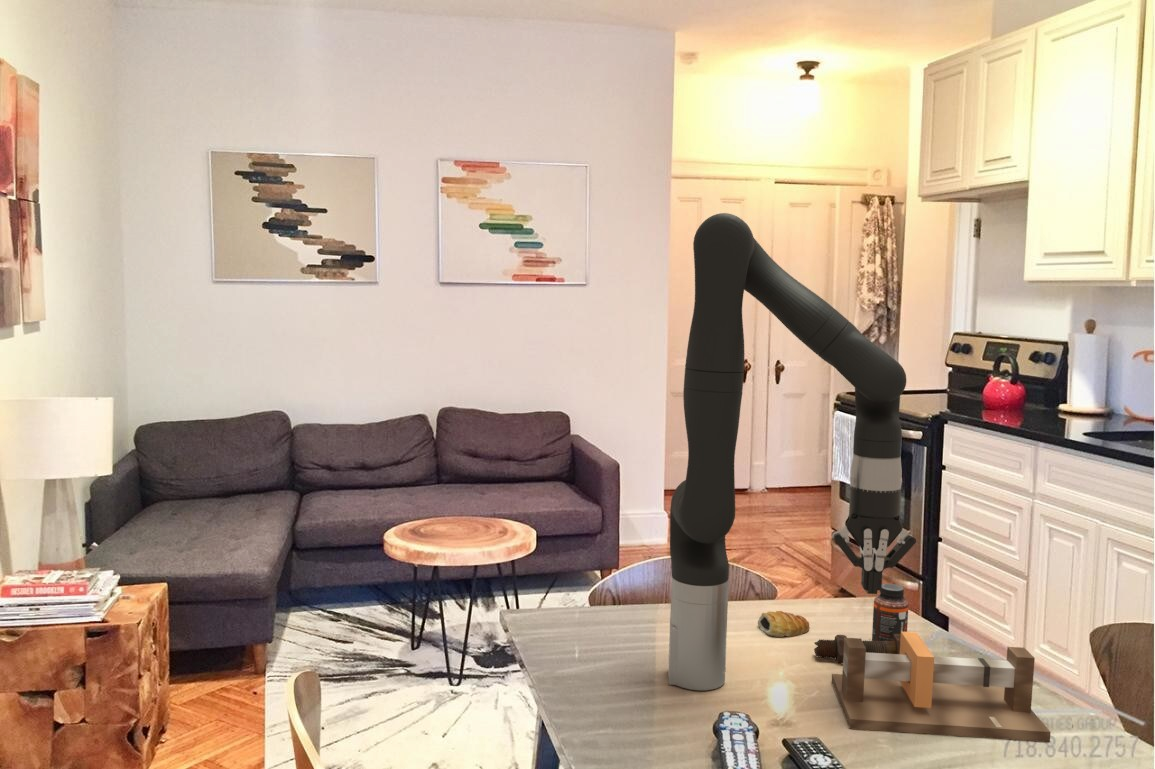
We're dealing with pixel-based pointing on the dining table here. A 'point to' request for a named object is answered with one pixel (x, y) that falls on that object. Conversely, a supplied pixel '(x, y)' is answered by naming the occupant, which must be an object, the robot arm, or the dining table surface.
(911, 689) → the collar
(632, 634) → the dining table surface
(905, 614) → the supplement bottle
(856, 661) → the pipe stand
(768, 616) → the pastry
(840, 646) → the bolt
